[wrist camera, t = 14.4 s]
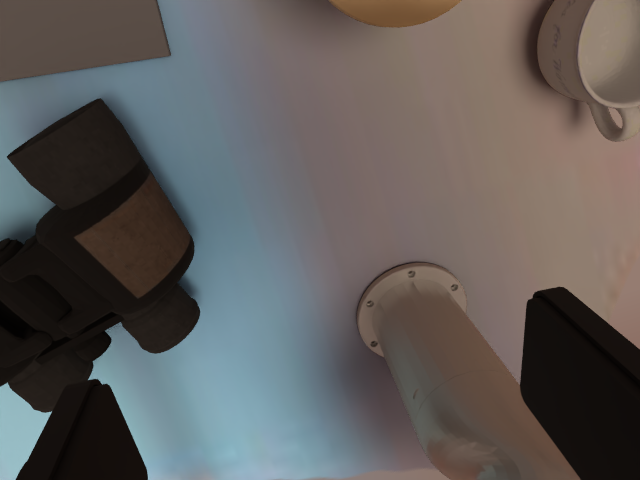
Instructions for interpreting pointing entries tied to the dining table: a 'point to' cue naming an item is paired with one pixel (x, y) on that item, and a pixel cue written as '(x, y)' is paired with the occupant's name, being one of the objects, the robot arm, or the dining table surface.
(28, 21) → the rubber mat
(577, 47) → the teacup
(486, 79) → the dining table surface
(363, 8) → the oak lid
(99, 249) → the binoculars
